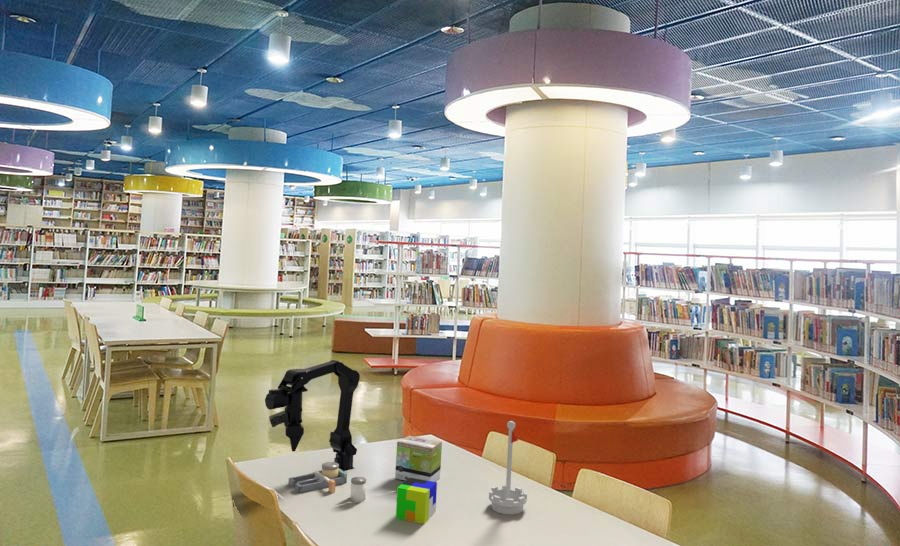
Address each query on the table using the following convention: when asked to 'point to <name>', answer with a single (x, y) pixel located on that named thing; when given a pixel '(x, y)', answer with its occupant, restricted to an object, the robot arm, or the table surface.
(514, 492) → the flag stand
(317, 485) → the grey flat frame
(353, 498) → the white jar
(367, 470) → the table surface
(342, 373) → the robot arm
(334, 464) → the ochre jar
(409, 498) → the puzzle toy
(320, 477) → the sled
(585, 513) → the table surface
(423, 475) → the tea box
